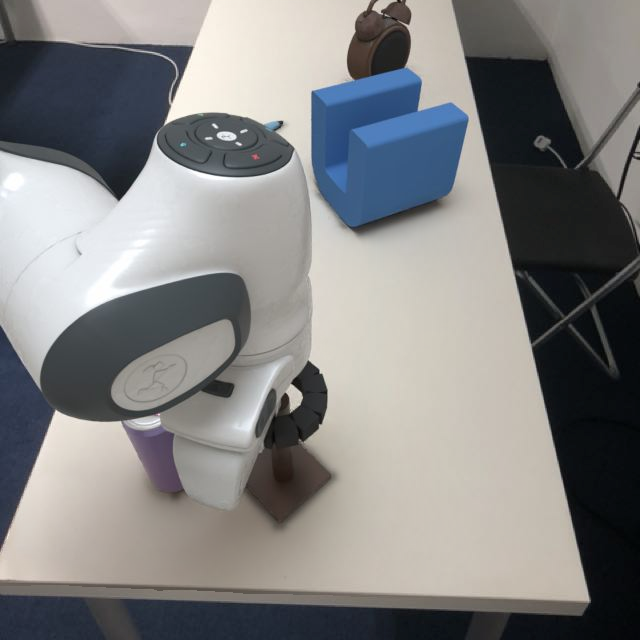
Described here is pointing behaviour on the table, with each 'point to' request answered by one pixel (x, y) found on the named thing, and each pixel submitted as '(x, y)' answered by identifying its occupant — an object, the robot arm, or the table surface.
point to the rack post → (285, 475)
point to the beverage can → (154, 451)
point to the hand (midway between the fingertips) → (262, 427)
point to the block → (383, 146)
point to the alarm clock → (380, 41)
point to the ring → (301, 411)
